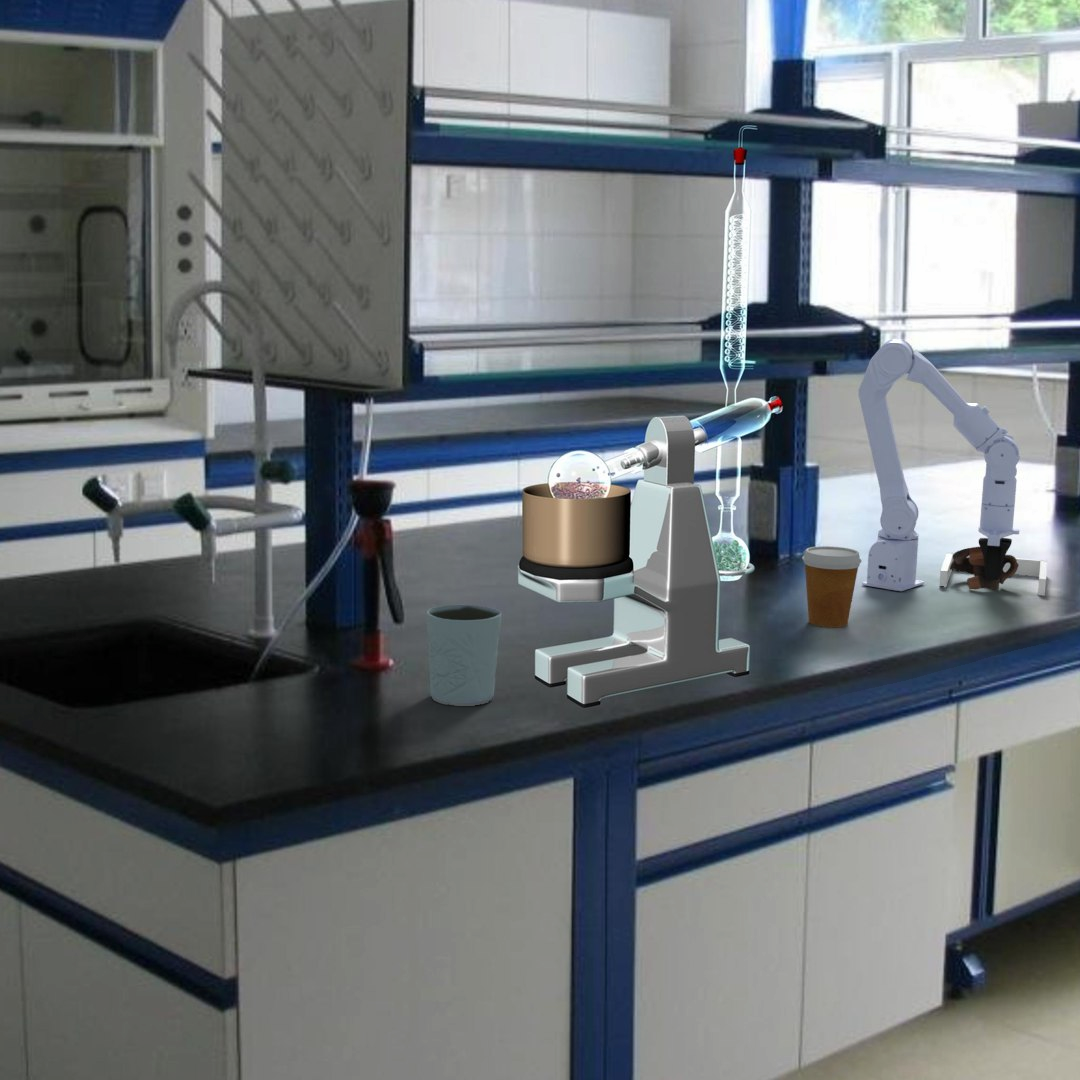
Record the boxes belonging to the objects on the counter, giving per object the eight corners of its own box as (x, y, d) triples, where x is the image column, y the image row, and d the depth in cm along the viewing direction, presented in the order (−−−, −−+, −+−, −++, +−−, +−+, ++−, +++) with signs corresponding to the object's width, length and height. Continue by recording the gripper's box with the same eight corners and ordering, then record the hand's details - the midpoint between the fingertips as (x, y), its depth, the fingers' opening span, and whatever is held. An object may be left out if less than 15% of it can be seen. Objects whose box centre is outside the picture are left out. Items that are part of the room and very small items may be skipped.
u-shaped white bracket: (1044, 595, 317) (1046, 579, 317) (939, 586, 322) (940, 570, 322) (1045, 575, 334) (1047, 560, 334) (946, 567, 339) (947, 552, 339)
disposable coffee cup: (813, 631, 285) (818, 557, 283) (789, 617, 294) (793, 546, 292) (867, 628, 288) (872, 556, 286) (841, 615, 297) (846, 545, 295)
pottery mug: (953, 592, 320) (945, 549, 322) (958, 605, 328) (950, 563, 331) (1021, 580, 317) (1012, 536, 319) (1024, 594, 325) (1016, 551, 328)
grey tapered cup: (426, 708, 236) (428, 620, 234) (423, 687, 246) (424, 603, 244) (502, 708, 237) (505, 620, 235) (496, 687, 247) (498, 603, 245)
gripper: (1019, 511, 308) (1013, 588, 311) (1022, 499, 322) (1016, 573, 324) (978, 508, 310) (972, 585, 312) (982, 496, 324) (977, 569, 326)
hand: (992, 578), depth 318 cm, fingers closed
